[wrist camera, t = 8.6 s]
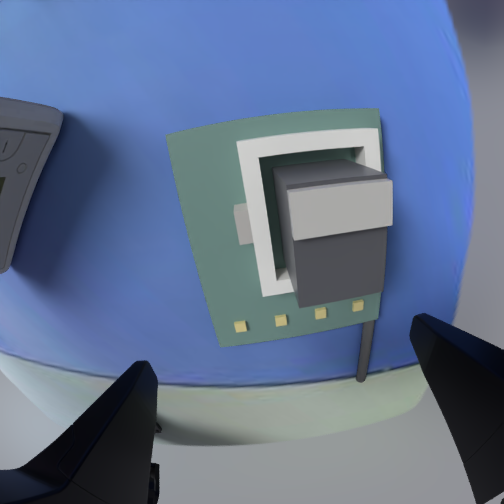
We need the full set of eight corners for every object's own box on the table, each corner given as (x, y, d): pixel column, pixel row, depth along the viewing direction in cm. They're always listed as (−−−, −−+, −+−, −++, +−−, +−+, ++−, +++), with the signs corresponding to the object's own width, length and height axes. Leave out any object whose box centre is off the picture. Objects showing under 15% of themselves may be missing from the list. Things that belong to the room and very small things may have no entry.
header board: (372, 310, 22) (384, 330, 20) (221, 337, 23) (219, 360, 20) (370, 109, 16) (390, 107, 13) (170, 134, 16) (158, 135, 13)
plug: (348, 248, 18) (386, 296, 13) (283, 258, 18) (300, 314, 13) (344, 158, 16) (392, 176, 10) (271, 167, 16) (288, 187, 11)
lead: (363, 376, 26) (366, 383, 25) (354, 378, 26) (357, 385, 25) (375, 280, 21) (380, 287, 20) (364, 283, 21) (368, 289, 20)
